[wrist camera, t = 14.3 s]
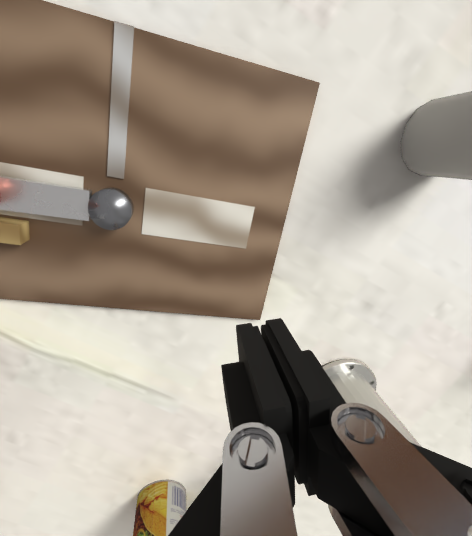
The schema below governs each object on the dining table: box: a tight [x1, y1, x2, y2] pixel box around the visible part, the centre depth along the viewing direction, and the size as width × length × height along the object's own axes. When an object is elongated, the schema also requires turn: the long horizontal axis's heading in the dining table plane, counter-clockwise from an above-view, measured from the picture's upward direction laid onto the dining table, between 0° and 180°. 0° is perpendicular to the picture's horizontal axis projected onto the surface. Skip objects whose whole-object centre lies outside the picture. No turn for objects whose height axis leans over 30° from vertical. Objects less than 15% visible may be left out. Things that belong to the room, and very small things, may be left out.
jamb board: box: [0, 0, 320, 320], centre depth 30 cm, size 28×38×3 cm
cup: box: [401, 91, 472, 180], centre depth 30 cm, size 8×8×10 cm
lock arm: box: [0, 176, 134, 230], centre depth 27 cm, size 17×4×5 cm, turn 79°
